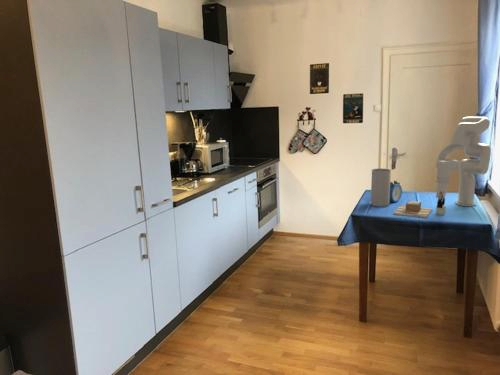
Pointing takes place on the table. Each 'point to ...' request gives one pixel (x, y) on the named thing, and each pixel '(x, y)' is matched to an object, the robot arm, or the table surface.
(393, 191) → the alarm clock
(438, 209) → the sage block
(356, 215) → the table surface
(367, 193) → the table surface
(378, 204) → the cylinder vase
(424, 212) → the build board
